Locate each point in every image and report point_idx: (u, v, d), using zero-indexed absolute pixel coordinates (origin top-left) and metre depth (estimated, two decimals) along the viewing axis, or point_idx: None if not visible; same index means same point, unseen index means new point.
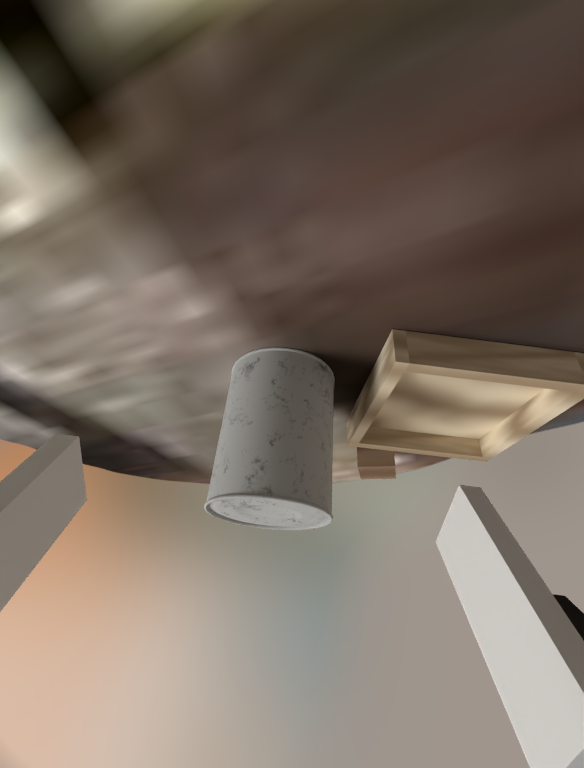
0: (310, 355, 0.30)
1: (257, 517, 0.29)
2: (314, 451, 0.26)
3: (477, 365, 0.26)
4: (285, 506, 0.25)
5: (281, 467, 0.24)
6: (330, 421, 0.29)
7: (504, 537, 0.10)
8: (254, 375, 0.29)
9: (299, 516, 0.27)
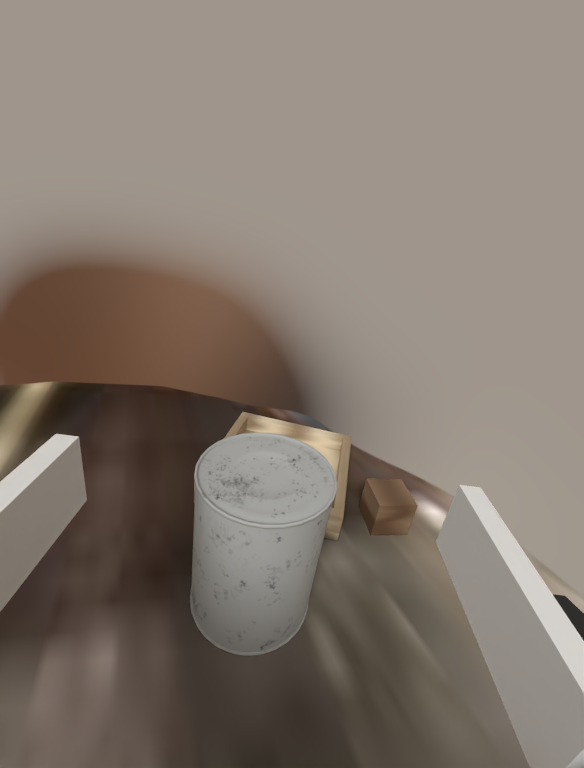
0: None
1: (293, 489, 0.24)
2: None
3: None
4: (236, 455, 0.26)
5: None
6: None
7: (504, 537, 0.10)
8: (192, 582, 0.27)
9: (277, 455, 0.27)
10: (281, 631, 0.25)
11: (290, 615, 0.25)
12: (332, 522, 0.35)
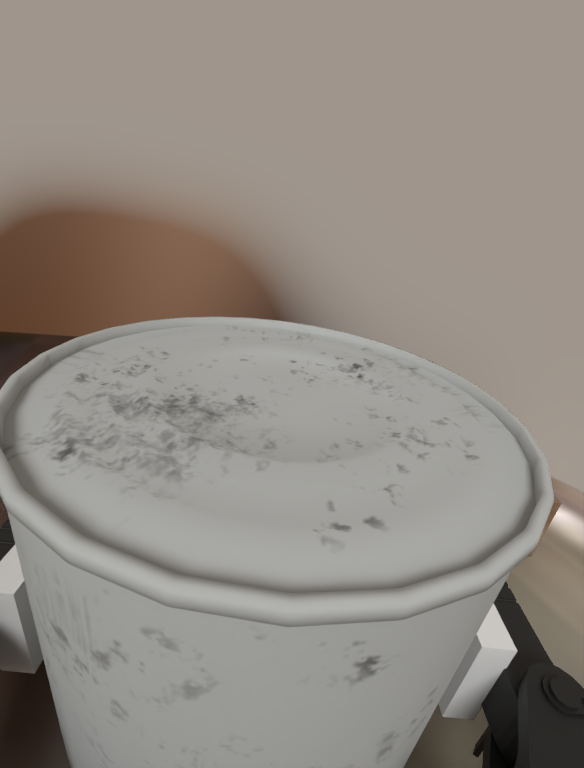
0: None
1: (380, 432, 0.07)
2: None
3: None
4: (189, 349, 0.09)
5: None
6: None
7: None
8: None
9: (307, 356, 0.10)
10: None
11: None
12: None
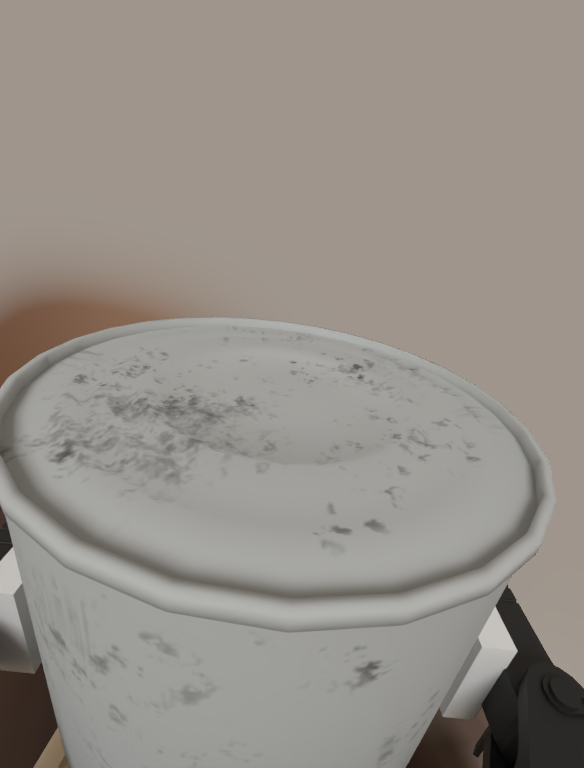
0: None
1: (381, 433, 0.06)
2: None
3: None
4: (189, 350, 0.09)
5: None
6: None
7: None
8: None
9: (307, 357, 0.10)
10: None
11: None
12: None
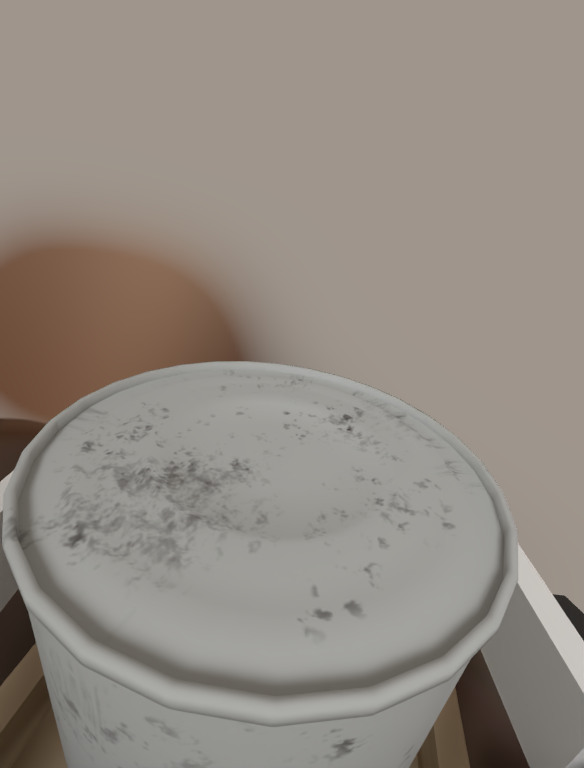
0: None
1: (365, 498, 0.07)
2: None
3: None
4: (188, 404, 0.09)
5: None
6: None
7: None
8: None
9: (300, 406, 0.10)
10: None
11: None
12: None
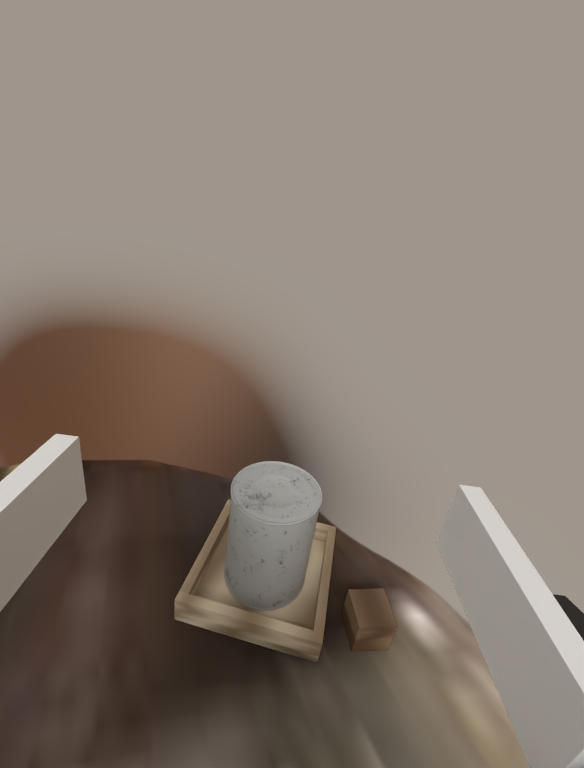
0: None
1: (294, 500, 0.37)
2: None
3: None
4: (256, 478, 0.39)
5: None
6: None
7: (504, 537, 0.10)
8: (226, 563, 0.40)
9: (283, 477, 0.40)
10: (287, 594, 0.38)
11: (292, 583, 0.38)
12: (312, 646, 0.35)
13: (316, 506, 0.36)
